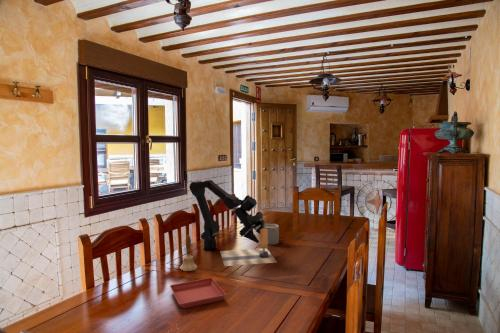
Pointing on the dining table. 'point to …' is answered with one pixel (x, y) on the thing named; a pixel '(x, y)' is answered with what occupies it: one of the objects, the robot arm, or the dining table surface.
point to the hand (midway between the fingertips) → (262, 240)
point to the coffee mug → (272, 233)
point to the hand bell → (188, 258)
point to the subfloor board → (245, 257)
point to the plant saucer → (197, 292)
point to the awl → (263, 243)
